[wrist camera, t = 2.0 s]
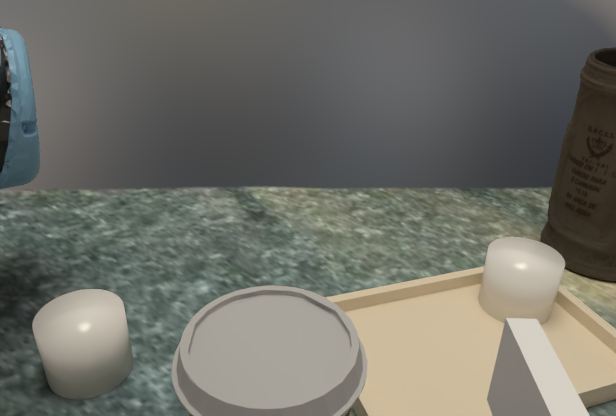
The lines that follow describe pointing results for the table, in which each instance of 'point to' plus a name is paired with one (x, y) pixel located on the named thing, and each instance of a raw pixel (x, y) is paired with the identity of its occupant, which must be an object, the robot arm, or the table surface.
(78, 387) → the rounded white cap
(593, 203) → the beer stein
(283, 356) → the disposable coffee cup
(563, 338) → the serving tray
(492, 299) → the white rounded cylinder
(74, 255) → the table surface
